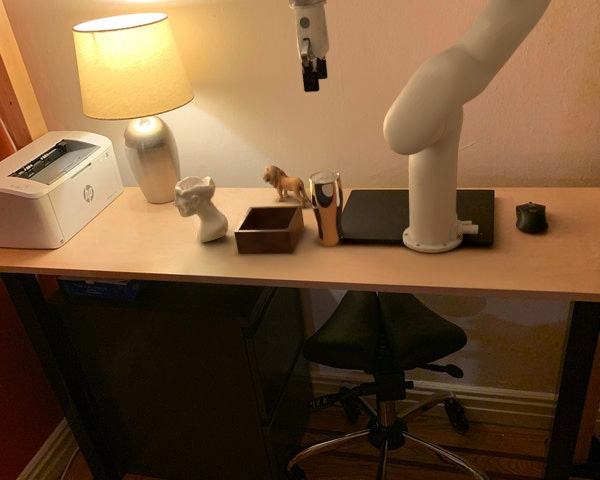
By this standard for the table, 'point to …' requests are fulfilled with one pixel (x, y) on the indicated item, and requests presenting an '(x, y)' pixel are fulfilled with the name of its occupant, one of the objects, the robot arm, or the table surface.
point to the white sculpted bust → (201, 206)
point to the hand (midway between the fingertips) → (316, 84)
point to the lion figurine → (285, 183)
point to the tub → (269, 239)
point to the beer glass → (327, 206)
